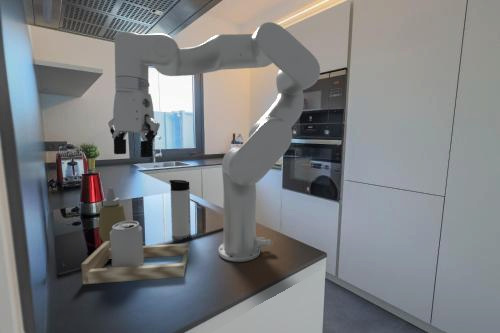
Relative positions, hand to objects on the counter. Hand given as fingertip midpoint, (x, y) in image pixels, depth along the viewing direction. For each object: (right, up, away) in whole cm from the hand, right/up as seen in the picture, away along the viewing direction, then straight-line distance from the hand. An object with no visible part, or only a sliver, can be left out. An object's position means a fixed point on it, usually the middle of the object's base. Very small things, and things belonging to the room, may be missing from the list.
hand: (133, 155), depth 63 cm
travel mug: (+6, -27, +21) cm, 35 cm away
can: (-2, -30, +1) cm, 30 cm away
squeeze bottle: (-14, -28, +16) cm, 35 cm away
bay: (+2, -30, +2) cm, 30 cm away
